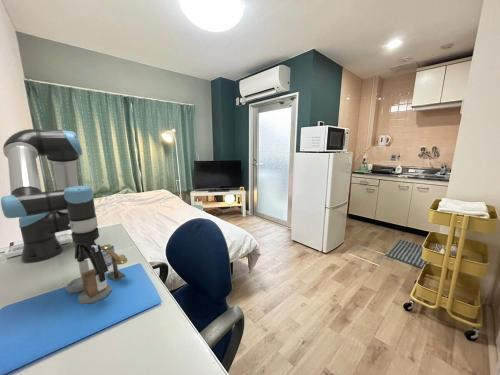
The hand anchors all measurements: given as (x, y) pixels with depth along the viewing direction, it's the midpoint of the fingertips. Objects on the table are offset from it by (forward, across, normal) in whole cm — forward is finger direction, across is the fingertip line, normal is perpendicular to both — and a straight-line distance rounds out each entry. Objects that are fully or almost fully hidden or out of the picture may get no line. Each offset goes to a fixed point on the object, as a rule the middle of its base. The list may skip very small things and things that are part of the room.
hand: (93, 282), depth 78 cm
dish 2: (+5, 0, 0) cm, 5 cm away
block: (+4, 0, 0) cm, 4 cm away
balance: (+5, -5, +10) cm, 12 cm away
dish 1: (+5, -11, 0) cm, 12 cm away
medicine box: (+6, -19, +12) cm, 23 cm away
